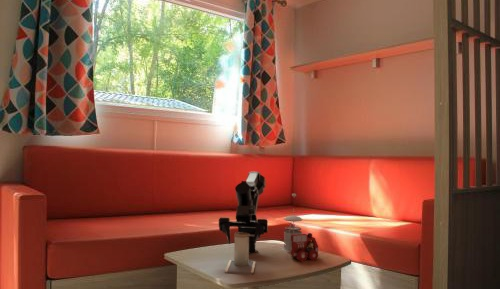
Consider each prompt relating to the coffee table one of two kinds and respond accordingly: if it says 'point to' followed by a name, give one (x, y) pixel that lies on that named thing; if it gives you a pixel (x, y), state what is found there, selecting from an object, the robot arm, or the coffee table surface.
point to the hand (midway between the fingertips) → (241, 243)
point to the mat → (240, 268)
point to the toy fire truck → (304, 247)
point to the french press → (291, 231)
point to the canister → (241, 248)
